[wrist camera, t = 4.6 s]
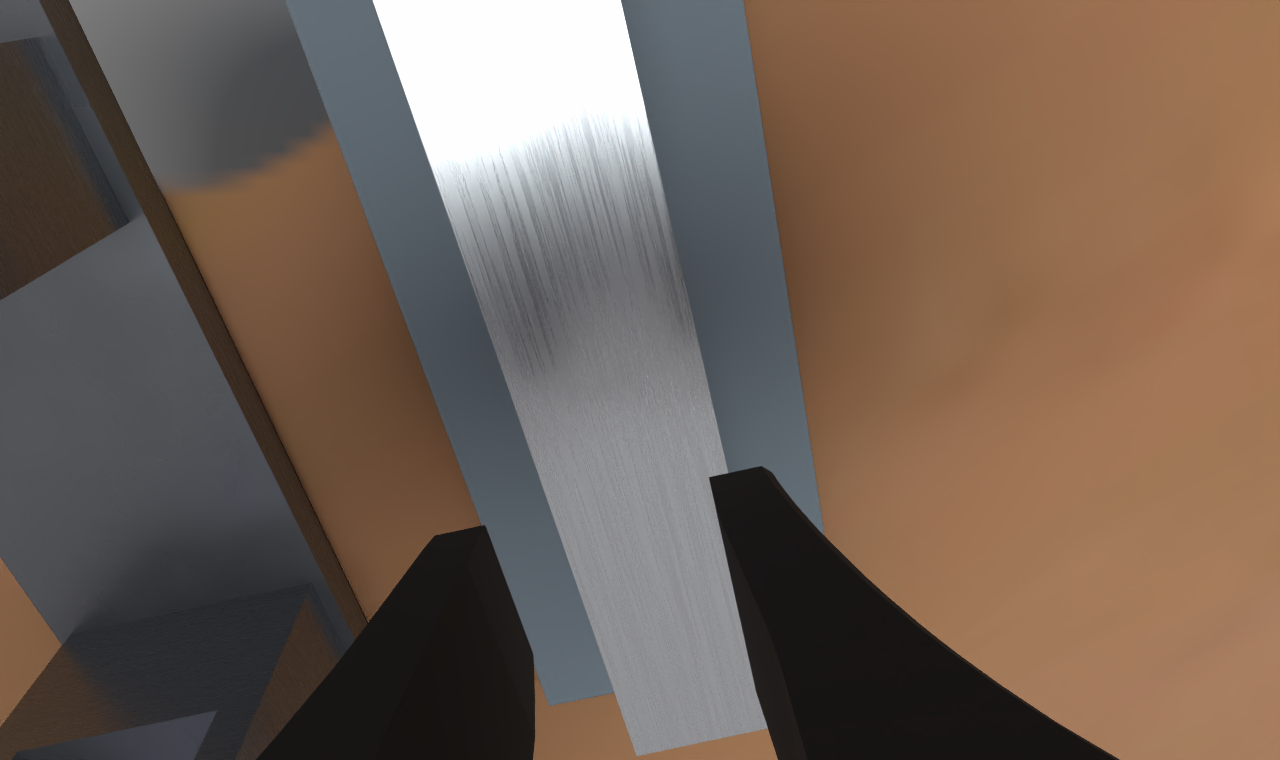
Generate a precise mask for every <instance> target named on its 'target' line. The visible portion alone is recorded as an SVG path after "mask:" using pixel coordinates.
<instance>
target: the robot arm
mask: <svg viewBox="0 0 1280 760" xmlns="http://www.w3.org/2000/svg"><path fill="white" fill-rule="evenodd" d="M709 481H710V485H711V490H712V494H713V499H714V503H715V508H716V513H717V517H718V522H719V526H720V531H721V535H722V540H723V544H724V549H725V554H726V558H727V563H728V567H729V572H730V576H731V581H732V586H733V590H734V595H735V599H736V604H737V608H738V613H739V617H740V622H741V626H742V631H743V635H744V640H745V644H746V649H747V653H748V658H749V662H750V667H751V671H752V676H753V680H754V685H755V689H756V693H757V696H758V699H759V703H760V706H761V709H762V712H763V715H764V718H765V721H766V724H767V727H768V730H769V733H770V736H771V739H772V742H773V745H774V748H775V751H776V754H777V758H778V760H1119V759H1118V758H1116V757H1114V756H1112V755H1111V754H1109V753H1107V752H1106V751H1104V750H1102V749H1101V748H1099V747H1097V746H1096V745H1094V744H1092V743H1090V742H1089V741H1087V740H1085V739H1084V738H1082V737H1080V736H1079V735H1077V734H1075V733H1074V732H1072V731H1070V730H1068V729H1067V728H1065V727H1063V726H1062V725H1060V724H1058V723H1057V722H1055V721H1054V720H1052V719H1051V718H1049V717H1048V716H1046V715H1045V714H1043V713H1042V712H1040V711H1039V710H1037V709H1036V708H1034V707H1033V706H1031V705H1030V704H1028V703H1027V702H1025V701H1024V700H1022V699H1021V698H1019V697H1018V696H1016V695H1015V694H1013V693H1012V692H1010V691H1009V690H1007V689H1006V688H1004V687H1003V686H1001V685H1000V684H999V683H997V682H996V681H994V680H993V679H992V678H990V677H989V676H987V675H986V674H985V673H983V672H982V671H981V670H979V669H978V668H976V667H975V666H974V665H972V664H971V663H969V662H968V661H967V660H965V659H964V658H963V657H961V656H960V655H959V654H957V653H956V652H955V651H953V650H952V649H951V648H949V647H948V646H947V645H946V644H944V643H943V642H942V641H940V640H939V639H938V638H937V637H935V636H934V635H933V634H932V633H930V632H929V631H928V630H927V629H925V628H924V627H923V626H922V625H920V624H919V623H918V622H917V621H916V620H915V619H913V618H912V617H911V616H910V615H909V614H907V613H906V612H905V611H904V610H903V609H902V608H900V607H899V606H898V605H897V604H896V603H895V602H893V601H892V600H891V599H890V598H889V597H887V596H886V595H885V594H884V593H883V592H882V591H881V590H880V589H879V588H878V587H876V586H875V585H874V584H873V583H872V582H871V581H870V580H869V579H868V578H867V577H865V576H864V575H863V574H862V573H861V572H860V571H859V570H858V569H857V568H856V567H855V566H854V565H853V564H852V563H851V562H850V561H849V560H848V559H847V558H846V557H845V556H844V555H843V554H842V553H841V552H840V551H839V550H838V549H837V548H836V547H835V546H834V545H833V544H832V543H831V542H830V541H829V540H828V539H827V538H826V537H825V536H824V535H823V534H822V533H821V532H820V531H819V530H818V529H817V527H816V526H815V525H814V524H813V523H812V522H811V521H810V520H809V518H808V517H807V516H806V515H805V514H804V513H803V512H802V511H801V509H800V508H799V507H798V506H797V505H796V504H795V502H794V501H793V500H792V499H791V497H790V496H789V495H788V494H787V492H786V491H785V490H784V488H783V487H782V486H781V484H780V483H779V482H778V480H777V479H776V477H775V476H774V474H773V473H772V472H771V471H769V470H768V469H766V468H764V467H763V466H759V467H754V468H749V469H745V470H740V471H735V472H731V473H726V474H721V475H717V476H712V477H709ZM534 742H535V689H534V654H533V652H532V649H531V646H530V644H529V641H528V638H527V636H526V633H525V630H524V628H523V625H522V622H521V619H520V617H519V614H518V611H517V609H516V606H515V603H514V601H513V598H512V595H511V593H510V590H509V587H508V585H507V582H506V579H505V577H504V574H503V571H502V568H501V566H500V563H499V560H498V558H497V555H496V552H495V550H494V547H493V544H492V542H491V539H490V536H489V534H488V531H487V528H486V526H485V525H483V526H478V527H473V528H469V529H464V530H459V531H455V532H450V533H445V534H441V535H436V536H434V537H433V538H432V540H431V541H430V542H429V543H428V544H427V546H426V547H425V548H424V549H423V551H422V552H421V553H420V555H419V556H418V557H417V559H416V560H415V561H414V563H413V564H412V565H411V567H410V568H409V569H408V571H407V572H406V573H405V575H404V576H403V577H402V579H401V580H400V581H399V583H398V584H397V585H396V587H395V588H394V589H393V591H392V592H391V593H390V595H389V596H388V597H387V599H386V600H385V601H384V603H383V604H382V606H381V607H380V608H379V610H378V611H377V612H376V613H375V615H374V616H373V617H372V619H371V620H370V621H369V623H368V624H367V625H366V626H365V628H364V629H363V630H362V632H361V633H360V634H359V636H358V637H357V638H356V639H355V641H354V642H353V643H352V645H351V646H350V647H349V649H348V650H347V651H346V652H345V654H344V655H343V656H342V658H341V659H340V660H339V662H338V663H337V664H336V665H335V667H334V668H333V669H332V670H331V672H330V673H329V674H328V675H327V676H326V678H325V679H324V680H323V681H322V682H321V683H320V685H319V686H318V687H317V688H316V689H315V691H314V692H313V693H312V694H311V695H310V697H309V698H308V699H307V700H306V701H305V702H304V704H303V705H302V706H301V707H300V708H299V710H298V711H297V712H296V713H295V714H294V716H293V717H292V718H291V719H290V720H289V722H288V723H287V724H286V725H285V726H284V727H283V729H282V730H281V731H280V732H279V733H278V735H277V736H276V737H275V738H274V739H273V741H272V742H271V743H270V744H269V745H268V746H267V747H266V749H265V750H264V751H263V752H262V753H261V754H260V755H259V756H258V757H257V759H256V760H533V752H534Z"/></svg>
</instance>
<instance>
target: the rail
mask: <svg viewBox="0 0 1280 760" xmlns="http://www.w3.org/2000/svg"><path fill="white" fill-rule="evenodd" d="M373 2H374V5H375V8H376V11H377V14H378V16H379V19H380V22H381V25H382V28H383V31H384V34H385V36H386V39H387V42H388V45H389V48H390V51H391V54H392V57H393V59H394V62H395V65H396V68H397V71H398V74H399V77H400V79H401V82H402V85H403V88H404V91H405V94H406V97H407V100H408V102H409V105H410V108H411V111H412V114H413V117H414V120H415V122H416V125H417V128H418V131H419V134H420V137H421V140H422V143H423V145H424V148H425V151H426V154H427V157H428V160H429V163H430V165H431V168H432V171H433V174H434V177H435V180H436V183H437V185H438V188H439V191H440V194H441V197H442V200H443V203H444V206H445V208H446V211H447V214H448V217H449V220H450V223H451V226H452V228H453V231H454V234H455V237H456V240H457V243H458V246H459V249H460V251H461V254H462V257H463V260H464V263H465V266H466V269H467V271H468V274H469V277H470V280H471V283H472V286H473V289H474V292H475V294H476V297H477V300H478V303H479V306H480V309H481V312H482V314H483V317H484V320H485V323H486V326H487V329H488V332H489V335H490V337H491V340H492V343H493V346H494V349H495V352H496V355H497V357H498V360H499V363H500V366H501V369H502V372H503V375H504V377H505V380H506V383H507V386H508V389H509V392H510V395H511V398H512V400H513V403H514V406H515V409H516V412H517V415H518V418H519V420H520V423H521V426H522V429H523V432H524V435H525V438H526V441H527V443H528V446H529V449H530V452H531V455H532V458H533V461H534V463H535V466H536V469H537V472H538V475H539V478H540V481H541V484H542V486H543V489H544V492H545V495H546V498H547V501H548V504H549V506H550V509H551V512H552V515H553V518H554V521H555V524H556V527H557V529H558V532H559V535H560V538H561V541H562V544H563V547H564V549H565V552H566V555H567V558H568V561H569V564H570V567H571V569H572V572H573V575H574V578H575V581H576V584H577V587H578V590H579V592H580V595H581V598H582V601H583V604H584V607H585V610H586V612H587V615H588V618H589V621H590V624H591V627H592V630H593V633H594V635H595V638H596V641H597V644H598V647H599V650H600V653H601V655H602V658H603V661H604V664H605V667H606V670H607V673H608V676H609V678H610V681H611V684H612V687H613V690H614V693H615V696H616V698H617V701H618V704H619V707H620V710H621V713H622V716H623V719H624V721H625V724H626V727H627V730H628V733H629V736H630V739H631V741H632V744H633V747H634V750H635V753H636V756H640V755H644V754H649V753H654V752H658V751H663V750H668V749H673V748H677V747H682V746H687V745H691V744H696V743H701V742H706V741H710V740H715V739H720V738H724V737H729V736H734V735H738V734H743V733H748V732H753V731H757V730H762V729H767V728H768V727H767V724H766V721H765V718H764V715H763V712H762V709H761V706H760V703H759V699H758V696H757V693H756V689H755V685H754V680H753V676H752V671H751V667H750V662H749V658H748V653H747V649H746V644H745V640H744V635H743V631H742V626H741V622H740V617H739V613H738V608H737V604H736V599H735V595H734V590H733V586H732V581H731V576H730V572H729V567H728V563H727V558H726V554H725V549H724V544H723V540H722V535H721V531H720V526H719V522H718V517H717V513H716V508H715V503H714V499H713V494H712V490H711V485H710V481H709V477H712V476H717V475H721V474H726V473H728V470H727V465H726V461H725V457H724V452H723V448H722V443H721V439H720V435H719V430H718V426H717V422H716V417H715V413H714V408H713V404H712V400H711V395H710V391H709V387H708V382H707V378H706V373H705V369H704V365H703V360H702V356H701V352H700V347H699V343H698V338H697V334H696V330H695V325H694V321H693V316H692V312H691V308H690V303H689V299H688V295H687V290H686V286H685V281H684V277H683V273H682V268H681V264H680V260H679V255H678V251H677V246H676V242H675V238H674V233H673V229H672V224H671V220H670V216H669V211H668V207H667V203H666V198H665V194H664V189H663V185H662V181H661V176H660V172H659V168H658V163H657V159H656V154H655V150H654V146H653V141H652V137H651V132H650V128H649V124H648V119H647V115H646V111H645V106H644V102H643V97H642V93H641V89H640V84H639V80H638V76H637V71H636V67H635V62H634V58H633V54H632V49H631V45H630V40H629V36H628V32H627V27H626V23H625V19H624V14H623V10H622V5H621V1H620V0H373Z"/></svg>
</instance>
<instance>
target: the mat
mask: <svg viewBox="0 0 1280 760" xmlns="http://www.w3.org/2000/svg"><path fill="white" fill-rule="evenodd" d="M285 1H286V4H287V7H288V10H289V12H290V15H291V17H292V20H293V23H294V26H295V28H296V31H297V34H298V36H299V39H300V42H301V44H302V47H303V50H304V52H305V55H306V58H307V60H308V63H309V66H310V68H311V71H312V74H313V76H314V79H315V82H316V84H317V87H318V90H319V92H320V95H321V98H322V100H323V103H324V106H325V109H326V111H327V114H328V117H329V119H330V122H331V125H332V127H333V130H334V133H335V135H336V138H337V141H338V143H339V146H340V149H341V151H342V154H343V157H344V159H345V162H346V165H347V167H348V170H349V173H350V175H351V178H352V181H353V183H354V186H355V189H356V191H357V194H358V197H359V199H360V202H361V205H362V207H363V210H364V213H365V215H366V218H367V221H368V223H369V226H370V229H371V231H372V234H373V237H374V239H375V242H376V245H377V247H378V250H379V253H380V255H381V258H382V261H383V263H384V266H385V269H386V271H387V274H388V277H389V279H390V282H391V285H392V287H393V290H394V293H395V295H396V298H397V301H398V303H399V306H400V309H401V311H402V314H403V317H404V319H405V322H406V325H407V327H408V330H409V333H410V335H411V338H412V341H413V344H414V346H415V349H416V352H417V354H418V357H419V360H420V362H421V365H422V368H423V370H424V373H425V376H426V378H427V381H428V384H429V386H430V389H431V392H432V394H433V397H434V400H435V402H436V405H437V408H438V410H439V413H440V416H441V418H442V421H443V424H444V426H445V429H446V432H447V434H448V437H449V440H450V442H451V445H452V448H453V450H454V453H455V456H456V458H457V461H458V464H459V466H460V469H461V472H462V474H463V477H464V480H465V482H466V485H467V488H468V490H469V493H470V496H471V498H472V501H473V504H474V506H475V509H476V512H477V514H478V517H479V520H480V522H481V525H482V526H483V525H485V526H486V528H487V531H488V534H489V536H490V539H491V542H492V544H493V547H494V550H495V552H496V555H497V558H498V560H499V563H500V566H501V568H502V571H503V574H504V577H505V579H506V582H507V585H508V587H509V590H510V593H511V595H512V598H513V601H514V603H515V606H516V609H517V611H518V614H519V617H520V619H521V622H522V625H523V628H524V630H525V633H526V636H527V638H528V641H529V644H530V646H531V649H532V652H533V654H534V667H535V669H536V672H537V675H538V677H539V680H540V683H541V685H542V688H543V691H544V693H545V696H546V699H547V701H548V704H549V706H551V705H556V704H561V703H566V702H571V701H576V700H581V699H586V698H591V697H595V696H600V695H605V694H610V693H614V690H613V687H612V684H611V681H610V678H609V676H608V673H607V670H606V667H605V664H604V661H603V658H602V655H601V653H600V650H599V647H598V644H597V641H596V638H595V635H594V633H593V630H592V627H591V624H590V621H589V618H588V615H587V612H586V610H585V607H584V604H583V601H582V598H581V595H580V592H579V590H578V587H577V584H576V581H575V578H574V575H573V572H572V569H571V567H570V564H569V561H568V558H567V555H566V552H565V549H564V547H563V544H562V541H561V538H560V535H559V532H558V529H557V527H556V524H555V521H554V518H553V515H552V512H551V509H550V506H549V504H548V501H547V498H546V495H545V492H544V489H543V486H542V484H541V481H540V478H539V475H538V472H537V469H536V466H535V463H534V461H533V458H532V455H531V452H530V449H529V446H528V443H527V441H526V438H525V435H524V432H523V429H522V426H521V423H520V420H519V418H518V415H517V412H516V409H515V406H514V403H513V400H512V398H511V395H510V392H509V389H508V386H507V383H506V380H505V377H504V375H503V372H502V369H501V366H500V363H499V360H498V357H497V355H496V352H495V349H494V346H493V343H492V340H491V337H490V335H489V332H488V329H487V326H486V323H485V320H484V317H483V314H482V312H481V309H480V306H479V303H478V300H477V297H476V294H475V292H474V289H473V286H472V283H471V280H470V277H469V274H468V271H467V269H466V266H465V263H464V260H463V257H462V254H461V251H460V249H459V246H458V243H457V240H456V237H455V234H454V231H453V228H452V226H451V223H450V220H449V217H448V214H447V211H446V208H445V206H444V203H443V200H442V197H441V194H440V191H439V188H438V185H437V183H436V180H435V177H434V174H433V171H432V168H431V165H430V163H429V160H428V157H427V154H426V151H425V148H424V145H423V143H422V140H421V137H420V134H419V131H418V128H417V125H416V122H415V120H414V117H413V114H412V111H411V108H410V105H409V102H408V100H407V97H406V94H405V91H404V88H403V85H402V82H401V79H400V77H399V74H398V71H397V68H396V65H395V62H394V59H393V57H392V54H391V51H390V48H389V45H388V42H387V39H386V36H385V34H384V31H383V28H382V25H381V22H380V19H379V16H378V14H377V11H376V8H375V5H374V2H373V0H285ZM620 1H621V5H622V10H623V14H624V19H625V23H626V27H627V32H628V36H629V40H630V45H631V49H632V54H633V58H634V62H635V67H636V71H637V76H638V80H639V84H640V89H641V93H642V97H643V102H644V106H645V111H646V115H647V119H648V124H649V128H650V132H651V137H652V141H653V146H654V150H655V154H656V159H657V163H658V168H659V172H660V176H661V181H662V185H663V189H664V194H665V198H666V203H667V207H668V211H669V216H670V220H671V224H672V229H673V233H674V238H675V242H676V246H677V251H678V255H679V260H680V264H681V268H682V273H683V277H684V281H685V286H686V290H687V295H688V299H689V303H690V308H691V312H692V316H693V321H694V325H695V330H696V334H697V338H698V343H699V347H700V352H701V356H702V360H703V365H704V369H705V373H706V378H707V382H708V387H709V391H710V395H711V400H712V404H713V408H714V413H715V417H716V422H717V426H718V430H719V435H720V439H721V443H722V448H723V452H724V457H725V461H726V465H727V470H728V473H731V472H735V471H740V470H745V469H749V468H754V467H759V466H763V467H764V468H766V469H768V470H769V471H771V472H772V473H773V474H774V476H775V477H776V479H777V480H778V482H779V483H780V484H781V486H782V487H783V488H784V490H785V491H786V492H787V494H788V495H789V496H790V497H791V499H792V500H793V501H794V502H795V504H796V505H797V506H798V507H799V508H800V509H801V511H802V512H803V513H804V514H805V515H806V516H807V517H808V518H809V520H810V521H811V522H812V523H813V524H814V525H815V526H816V527H817V529H818V530H819V531H820V532H821V533H822V534H823V535H824V530H823V523H822V517H821V510H820V503H819V497H818V490H817V484H816V477H815V470H814V464H813V457H812V450H811V444H810V437H809V431H808V424H807V417H806V411H805V404H804V398H803V391H802V384H801V378H800V371H799V365H798V358H797V351H796V345H795V338H794V332H793V325H792V318H791V312H790V305H789V299H788V292H787V285H786V279H785V272H784V265H783V259H782V252H781V246H780V239H779V232H778V226H777V219H776V213H775V206H774V199H773V193H772V186H771V180H770V173H769V166H768V160H767V153H766V147H765V140H764V133H763V127H762V120H761V114H760V107H759V100H758V94H757V87H756V81H755V74H754V67H753V61H752V54H751V47H750V41H749V34H748V28H747V21H746V14H745V8H744V1H743V0H620Z"/></svg>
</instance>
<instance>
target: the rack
mask: <svg viewBox="0 0 1280 760" xmlns="http://www.w3.org/2000/svg"><path fill="white" fill-rule="evenodd" d="M0 557H1V559H2V560H3V562H4V563H5V564H6V566H7V567H8V569H9V570H10V571H11V573H12V574H13V576H14V577H15V579H16V580H17V581H18V583H19V584H20V586H21V587H22V589H23V590H24V591H25V593H26V594H27V596H28V597H29V598H30V600H31V601H32V603H33V604H34V606H35V607H36V608H37V610H38V611H39V613H40V614H41V616H42V617H43V618H44V620H45V621H46V623H47V624H48V625H49V627H50V628H51V630H52V631H53V633H54V634H55V635H56V637H57V638H58V640H59V641H60V643H61V644H62V646H61V648H60V649H59V650H58V652H57V653H56V654H55V656H54V657H53V658H52V660H51V661H50V662H49V664H48V665H47V666H46V667H45V669H44V670H43V671H42V673H41V674H40V675H39V677H38V678H37V679H36V681H35V682H34V683H33V685H32V686H31V687H30V689H29V690H28V691H27V693H26V694H25V695H24V697H23V698H22V699H21V701H20V702H19V703H18V705H17V706H16V707H15V709H14V710H13V711H12V713H11V714H10V715H9V717H8V718H7V719H6V721H5V722H4V723H3V725H2V726H1V727H0V760H256V759H257V757H258V756H259V755H260V754H261V753H262V752H263V751H264V750H265V749H266V747H267V746H268V745H269V744H270V743H271V742H272V741H273V739H274V738H275V737H276V736H277V735H278V733H279V732H280V731H281V730H282V729H283V727H284V726H285V725H286V724H287V723H288V722H289V720H290V719H291V718H292V717H293V716H294V714H295V713H296V712H297V711H298V710H299V708H300V707H301V706H302V705H303V704H304V702H305V701H306V700H307V699H308V698H309V697H310V695H311V694H312V693H313V692H314V691H315V689H316V688H317V687H318V686H319V685H320V683H321V682H322V681H323V680H324V679H325V678H326V676H327V675H328V674H329V673H330V672H331V670H332V669H333V668H334V667H335V665H336V664H337V663H338V662H339V660H340V659H341V658H342V656H343V655H344V654H345V652H346V651H347V650H348V649H349V647H350V646H351V645H352V643H353V642H354V641H355V639H356V638H357V637H358V636H359V634H360V633H361V632H362V630H363V629H364V628H365V626H366V625H367V624H368V623H367V621H366V619H365V617H364V615H363V613H362V611H361V609H360V607H359V605H358V602H357V600H356V598H355V596H354V594H353V592H352V590H351V588H350V586H349V584H348V582H347V580H346V577H345V575H344V573H343V571H342V569H341V567H340V565H339V563H338V561H337V559H336V557H335V555H334V552H333V550H332V548H331V546H330V544H329V542H328V540H327V538H326V536H325V534H324V532H323V530H322V527H321V525H320V523H319V521H318V519H317V517H316V515H315V513H314V511H313V509H312V507H311V504H310V502H309V500H308V498H307V496H306V494H305V492H304V490H303V488H302V486H301V484H300V482H299V479H298V477H297V475H296V473H295V471H294V469H293V467H292V465H291V463H290V461H289V459H288V457H287V454H286V452H285V450H284V448H283V446H282V444H281V442H280V440H279V438H278V436H277V434H276V432H275V429H274V427H273V425H272V423H271V421H270V419H269V417H268V415H267V413H266V411H265V409H264V407H263V404H262V402H261V400H260V398H259V396H258V394H257V392H256V390H255V388H254V386H253V384H252V382H251V379H250V377H249V375H248V373H247V371H246V369H245V367H244V365H243V363H242V361H241V359H240V357H239V354H238V352H237V350H236V348H235V346H234V344H233V342H232V340H231V338H230V336H229V334H228V332H227V329H226V327H225V325H224V323H223V321H222V319H221V317H220V315H219V313H218V311H217V309H216V306H215V304H214V302H213V300H212V298H211V296H210V294H209V292H208V290H207V288H206V286H205V284H204V281H203V279H202V277H201V275H200V273H199V271H198V269H197V267H196V265H195V263H194V261H193V259H192V256H191V254H190V252H189V250H188V248H187V246H186V244H185V242H184V240H183V238H182V236H181V234H180V231H179V229H178V227H177V225H176V223H175V221H174V219H173V217H172V215H171V213H170V211H169V209H168V206H167V204H166V202H165V200H164V198H163V196H162V194H161V192H160V190H159V188H158V186H157V184H156V181H155V179H154V177H153V175H152V173H151V171H150V169H149V167H148V165H147V163H146V161H145V159H144V156H143V155H142V152H141V150H140V148H139V146H138V144H137V142H136V140H135V138H134V136H133V134H132V132H131V129H130V127H129V125H128V123H127V121H126V119H125V117H124V115H123V113H122V111H121V109H120V106H119V104H118V102H117V100H116V98H115V96H114V94H113V92H112V90H111V88H110V86H109V84H108V81H107V79H106V77H105V75H104V73H103V71H102V69H101V67H100V65H99V63H98V61H97V59H96V56H95V54H94V52H93V50H92V48H91V46H90V44H89V42H88V40H87V38H86V36H85V34H84V31H83V29H82V27H81V25H80V23H79V21H78V19H77V17H76V15H75V13H74V11H73V9H72V7H71V4H70V2H69V0H0Z"/></svg>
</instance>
